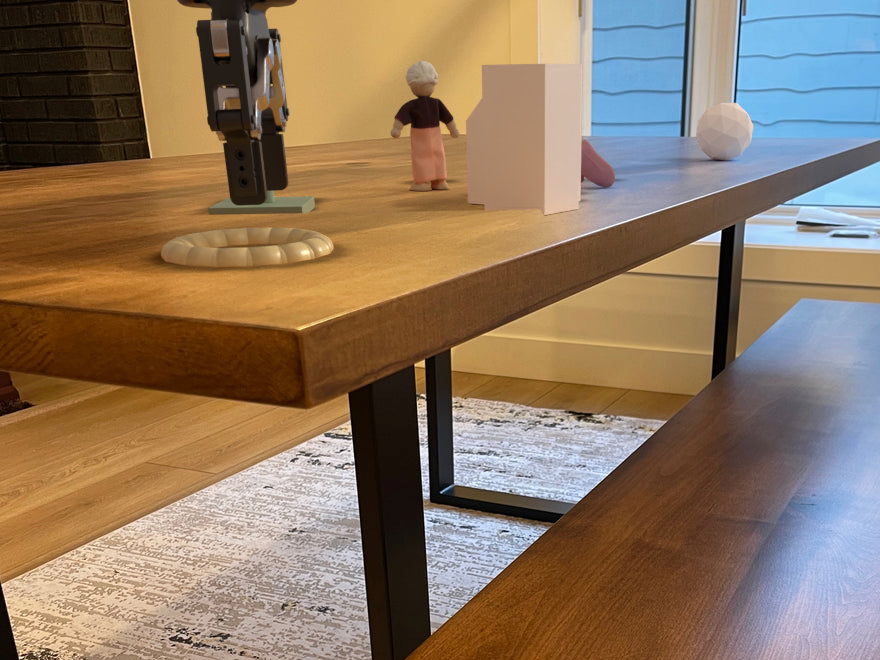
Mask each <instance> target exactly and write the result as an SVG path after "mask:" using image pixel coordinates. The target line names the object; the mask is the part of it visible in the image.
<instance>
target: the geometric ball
mask: <svg viewBox="0 0 880 660" xmlns="http://www.w3.org/2000/svg"><path fill="white" fill-rule="evenodd" d="M754 127H755V126H754V124H753V122H752V119H751V117H750V115H749V113H748V112H747V111H746V110H745V109H744V108H743V107H742V106H741V105H740V104H739V103H738V102H719V103H717V104H715V105H711V106H709V107H707V109H706V110H705V111H704V112H703V114H702V115H701V116H700V118H699V120H698V121H697V127H696V133H695V139H696V142H697V144H698V146H699V148H700V150H701V151H702V152H703V153H704V154H705V155H706V156H707V157H708V158H710V159H711V160H712V161H730V160H733V159H735V158H738V157H741V156H742V154H743V153H744V152H745V151H746V149H748V147H749V145H751V142H752V138H753V132H754Z"/></svg>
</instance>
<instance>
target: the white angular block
mask: <svg viewBox="0 0 880 660" xmlns="http://www.w3.org/2000/svg"><path fill="white" fill-rule="evenodd" d="M583 72H584V65H583V64H581V63H511V64H509V63H507V64H506V63H505V64H504V63H503V64H481V99H480V100H479V101H478V103H477V104H476V106H475V107H474V108H473V110H472V112H471V113H470V115H468V117H467V118H466V120H465V139H466V145H465V146H466V177H467V178H466V179H467V181H466V182H467V204H471V205H472V204H473V205H482V206H484V210H483V211H516V210H517V211H518V210H519V211H520V210H521V211H525V210H526V211H527V210H529V211H531V210H540V211H541V214H542V215H543V216H549V215H553V214H559V213H564V212H569V211H570V212H571V211H576V210H579V208H580V207H579V206H580V202H581V190H582V188H581V185H582V183H581V137H583V135H582V132H583V131H582V130H583V127H582V126H583V80H584V79H583V75H584V73H583Z"/></svg>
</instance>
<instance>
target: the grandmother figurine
mask: <svg viewBox="0 0 880 660" xmlns="http://www.w3.org/2000/svg"><path fill="white" fill-rule="evenodd" d="M438 78H439V74H438V73H437V71H436V69H435V67H434V66H433V64H432V63H430V62H429V61H425V60H419V61H416V62H414V63H413V64H412V65H410V66H409V67H408V69H407V72H406V74H405V80H406V84H407V86H408V87H409V88H410V91H411V93H412V94H413V95H414V96H415V97H416V98H413V99H410V100H408V101H406V102H405V103H404V104H402V105H401V107H400V108H399V109H398V110H397V112H396V114H395V115H394V122H393V125H392V126H393V127H392V129H391V130H390V136H391V138H393V139H399V138H400V137H401V134H402V130H404V127H405V126H408V125H410V129H409V130H410V131H409V137H410V139H409V140H410V155H411V156H410V158H411V169H412V178H413V182H412V183H411V184H410V186H409V190H410V191H415V192H429V191H432V190H449V189H450V185H449V184H448V183H447V181H446V179H448V175H447V174H448V173H447V163H446V162H447V161H446V154H445V153H446V152H445V148H444V142H443V136H442V131H441V130H442V129H441V126H440V122H441V124H444V125H445V128H446V129H447V130H448V131H449V136H450V137H451V138H452V139H457V138H459V137H460V131H459V128H457V124H456V121H455V120H454V116H453V114H451V113H452V112H450V110H449V109H448V108H447V106H446V105H445V104H444V103H443V101H442V100H441V99H440V98H437V97H432V94H433V93H434V91H435V88H436V87H435V86H437V85H438V84H439V82H438ZM428 182H430V185H429V183H428Z"/></svg>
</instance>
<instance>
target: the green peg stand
mask: <svg viewBox="0 0 880 660" xmlns="http://www.w3.org/2000/svg"><path fill="white" fill-rule="evenodd" d="M315 202H316V201H315V196H314V195H313V196H312V195H311V196H309V195H308V196H275V191H267V200H266V201H265V202H264V203H263V204H261V205H240V206H239V205H235V204H234V203H232V201H231V199H230V197H227V198H225V199H223V200H221V201H219V202H217V203H215V204H213V205H211V206H210V207H208V208H207V210H208V215H209V216H216V215H217V216H220V215H221V216H222V215H224V216H225V215H228V216H230V215H274V214H275V215H280V214H281V215H283V214H285V215H286V214H291V215H292V214H309V213H311V212H312V211H313V210H314V209H315V208H316V203H315Z"/></svg>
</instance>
